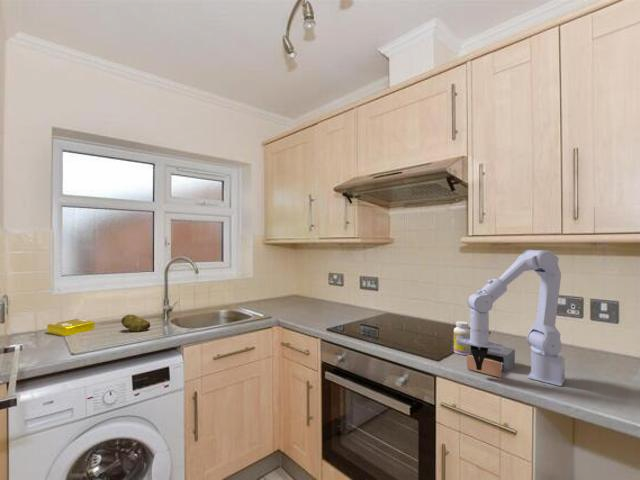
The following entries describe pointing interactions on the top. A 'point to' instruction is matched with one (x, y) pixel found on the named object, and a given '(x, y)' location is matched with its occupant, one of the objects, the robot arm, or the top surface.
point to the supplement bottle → (461, 333)
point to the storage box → (503, 357)
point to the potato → (135, 323)
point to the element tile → (70, 327)
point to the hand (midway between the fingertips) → (479, 369)
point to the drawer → (486, 366)
